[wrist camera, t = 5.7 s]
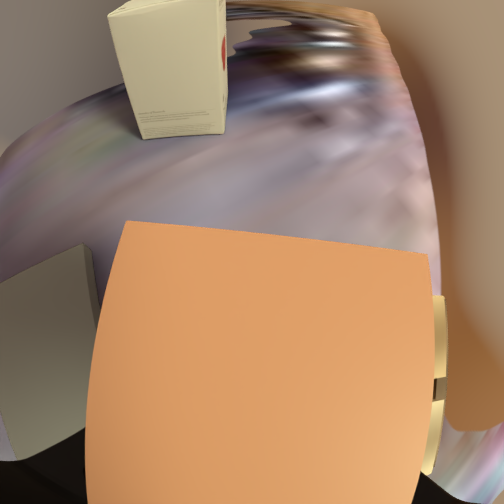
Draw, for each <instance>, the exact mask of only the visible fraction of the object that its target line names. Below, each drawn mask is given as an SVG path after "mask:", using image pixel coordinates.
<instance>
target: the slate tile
mask: <svg viewBox="0 0 504 504" xmlns="http://www.w3.org/2000/svg"><path fill="white" fill-rule="evenodd" d="M100 313H101V310H100V305H99V300H98V294H97V288H96V282H95V275H94V268H93V261H92V252H91V250H90V249H89V248H88V247H87V246H86V245H85V244H84V243H82V244H79V245H77V246H75V247H73V248H70V249H68V250H66V251H64V252H62V253H59V254H57V255H55V256H53V257H51V258H49V259H47V260H45V261H42V262H40V263H38V264H36V265H34V266H32V267H30V268H28V269H26V270H24V271H22V272H20V273H18V274H16V275H14V276H13V277H11V278H9V279H7V280H5V281H3V282H1V283H0V412H1V415H2V419H3V422H4V425H5V428H6V431H7V434H8V437H9V440H10V443H11V446H12V448H13V451H14V453H15V456H16V458H17V460H22V459H25V458H28V457H30V456H33V455H35V454H37V453H39V452H41V451H43V450H45V449H47V448H49V447H51V446H53V445H55V444H57V443H59V442H61V441H62V440H64V439H66V438H68V437H70V436H71V435H73V434H75V433H76V432H78V431H80V430H81V429H83V428H84V427H86V410H87V397H88V387H89V378H90V370H91V363H92V356H93V350H94V344H95V338H96V333H97V328H98V322H99V318H100Z"/></svg>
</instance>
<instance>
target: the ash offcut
mask: <svg viewBox="0 0 504 504" xmlns="http://www.w3.org/2000/svg"><path fill="white" fill-rule="evenodd" d="M443 407H444V399H432V409H431V417H430V425H429V431H428V437H427V443H426V448H425V454H424V458H423V463H422V467H421V472H423V473H424V474H425V475H428V474H431V473H432V469H433V465H434V460H435V456H436V451H437V446H438V441H439V435H440V429H441V423H442V415H443Z"/></svg>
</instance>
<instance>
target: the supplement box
mask: <svg viewBox="0 0 504 504" xmlns="http://www.w3.org/2000/svg"><path fill="white" fill-rule="evenodd" d="M107 18H108V22H109V26H110V30H111V34H112V39H113V42H114V47H115V50H116V54H117V58H118V62H119V65H120V69H121V72H122V76H123V79H124V83H125V86H126V90H127V93H128V96H129V99H130V102H131V106H132V109H133V112H134V115H135V118H136V121H137V124H138V127H139V130H140V133H141V136H142V139H143V140H144V139H152V138H162V137H174V136H187V135H204V134H223V133H224V129H225V119H226V107H227V96H228V86H227V52H226V51H227V50H226V5H225V0H131V1H129V2H127V3H125V4H124V5H123V6H121V7H120V8H118V9H116V10H115V11H113V12H112V13H110V14H108V16H107Z"/></svg>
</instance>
